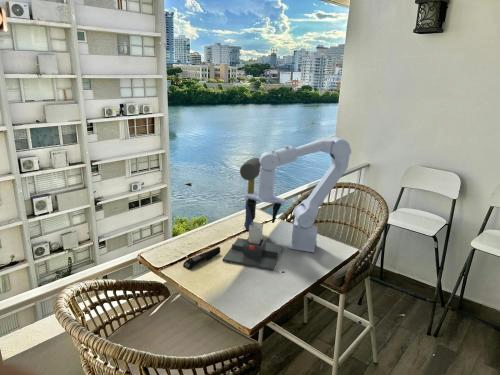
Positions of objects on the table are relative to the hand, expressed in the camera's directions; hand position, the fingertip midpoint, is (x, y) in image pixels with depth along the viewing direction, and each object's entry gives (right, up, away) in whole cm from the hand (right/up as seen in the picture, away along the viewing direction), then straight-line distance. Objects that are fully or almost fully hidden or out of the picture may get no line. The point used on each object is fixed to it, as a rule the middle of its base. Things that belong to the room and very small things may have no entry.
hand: (263, 220), depth 134 cm
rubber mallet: (-5, -5, +17) cm, 19 cm away
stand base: (-3, -12, -4) cm, 13 cm away
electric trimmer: (-21, -13, -10) cm, 27 cm away
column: (-3, -9, -5) cm, 10 cm away
